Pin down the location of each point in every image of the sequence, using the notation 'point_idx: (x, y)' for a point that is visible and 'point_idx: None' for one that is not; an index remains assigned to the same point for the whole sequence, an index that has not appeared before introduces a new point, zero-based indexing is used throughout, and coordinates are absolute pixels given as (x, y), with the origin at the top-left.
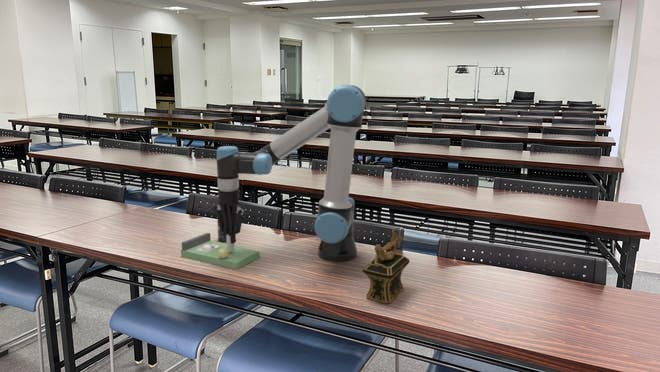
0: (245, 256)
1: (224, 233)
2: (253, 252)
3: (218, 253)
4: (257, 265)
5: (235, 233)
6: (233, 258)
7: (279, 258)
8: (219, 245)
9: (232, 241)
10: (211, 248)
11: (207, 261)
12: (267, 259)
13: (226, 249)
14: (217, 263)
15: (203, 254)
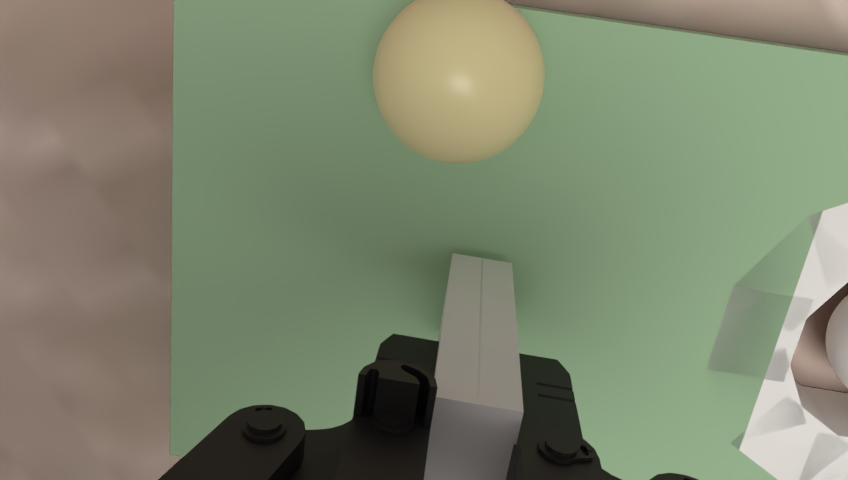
0: (211, 237)
1: (582, 443)
2: (208, 395)
3: (508, 6)
4: (79, 192)
5: (241, 418)
6: (313, 109)
7: (10, 445)
8: (768, 477)
9: (398, 354)
10: (840, 366)
11: (718, 34)
12: (96, 384)
13: (406, 125)
14: (532, 8)
15: (842, 81)
